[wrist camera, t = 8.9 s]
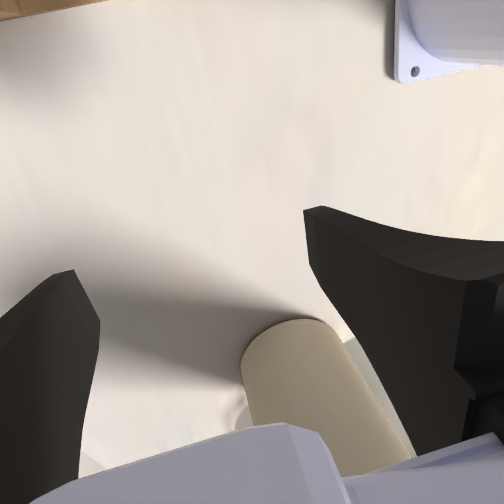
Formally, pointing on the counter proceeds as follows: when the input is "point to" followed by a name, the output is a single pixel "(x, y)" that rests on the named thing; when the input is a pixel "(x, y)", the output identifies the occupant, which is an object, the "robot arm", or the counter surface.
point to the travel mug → (319, 394)
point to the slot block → (36, 7)
